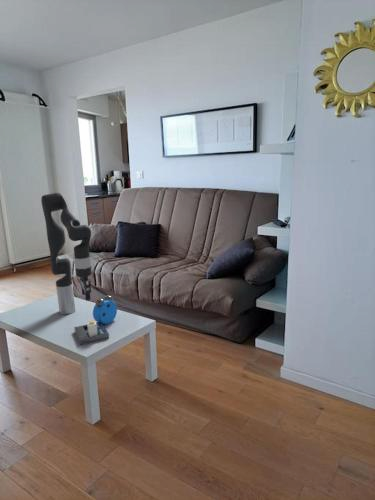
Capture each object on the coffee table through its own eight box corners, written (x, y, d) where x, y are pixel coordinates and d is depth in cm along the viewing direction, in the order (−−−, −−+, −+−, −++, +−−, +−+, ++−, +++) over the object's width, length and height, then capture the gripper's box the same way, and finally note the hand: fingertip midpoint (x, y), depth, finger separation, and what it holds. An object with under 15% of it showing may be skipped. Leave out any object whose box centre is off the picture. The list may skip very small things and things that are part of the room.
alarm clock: (110, 317, 200) (108, 292, 197) (118, 319, 197) (116, 294, 194) (93, 326, 190) (90, 300, 186) (101, 328, 186) (99, 302, 183)
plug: (88, 337, 175) (86, 321, 173) (96, 335, 177) (94, 319, 175) (90, 340, 171) (88, 324, 170) (98, 338, 173) (96, 322, 171)
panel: (74, 332, 182) (74, 327, 182) (101, 326, 189) (100, 321, 188) (80, 346, 168) (80, 340, 167) (109, 339, 174) (108, 333, 173)
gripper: (72, 263, 173) (76, 294, 177) (78, 270, 161) (81, 303, 164) (87, 261, 176) (90, 291, 180) (94, 268, 164) (97, 300, 168)
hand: (86, 297), depth 172 cm, fingers open, 8 cm apart
